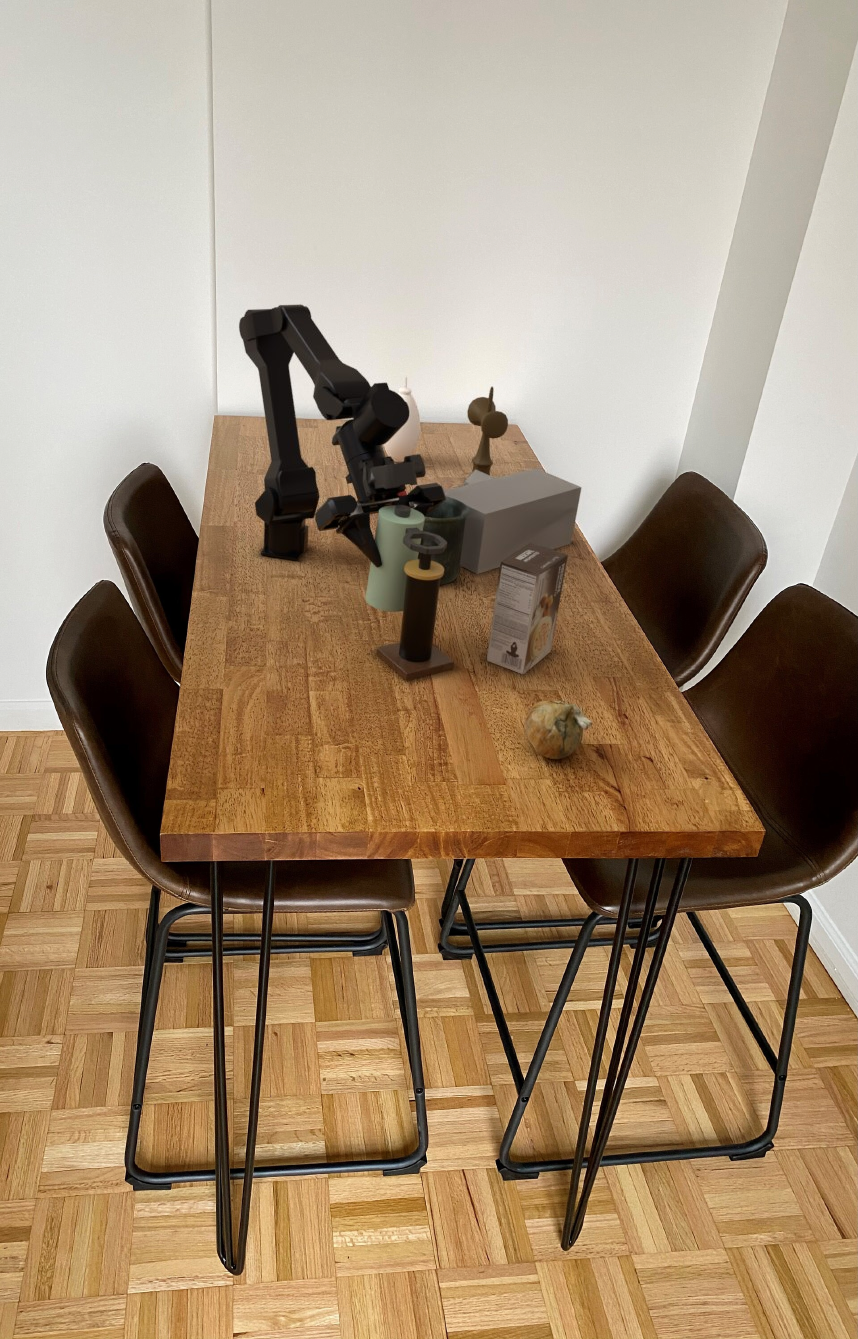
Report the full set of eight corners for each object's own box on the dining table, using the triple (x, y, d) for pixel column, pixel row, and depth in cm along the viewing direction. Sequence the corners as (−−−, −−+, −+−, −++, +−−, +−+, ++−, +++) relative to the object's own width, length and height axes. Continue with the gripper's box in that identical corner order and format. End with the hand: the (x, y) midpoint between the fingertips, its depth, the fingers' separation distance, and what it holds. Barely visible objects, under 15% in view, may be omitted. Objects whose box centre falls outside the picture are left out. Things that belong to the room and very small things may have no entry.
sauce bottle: (416, 469, 219) (425, 383, 210) (379, 465, 218) (386, 379, 209) (417, 456, 225) (425, 372, 216) (381, 453, 225) (387, 369, 216)
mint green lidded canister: (357, 593, 152) (372, 499, 145) (396, 589, 155) (412, 497, 148) (399, 636, 143) (416, 538, 135) (439, 631, 146) (458, 536, 139)
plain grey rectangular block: (480, 501, 207) (487, 447, 201) (571, 543, 193) (581, 487, 187) (385, 526, 191) (390, 469, 185) (477, 574, 177) (485, 514, 171)
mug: (460, 591, 171) (469, 522, 165) (371, 582, 170) (377, 513, 164) (461, 563, 180) (469, 497, 174) (376, 554, 180) (381, 488, 174)
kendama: (486, 474, 220) (498, 379, 210) (500, 491, 212) (514, 393, 202) (458, 474, 218) (470, 378, 208) (472, 492, 210) (485, 393, 200)
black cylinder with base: (375, 654, 150) (385, 538, 141) (422, 643, 154) (434, 529, 145) (405, 681, 145) (418, 561, 136) (453, 668, 149) (468, 552, 140)
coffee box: (513, 638, 159) (529, 540, 151) (551, 652, 156) (570, 553, 148) (484, 661, 152) (499, 560, 144) (523, 676, 149) (541, 574, 141)
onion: (574, 734, 137) (585, 682, 133) (584, 770, 130) (596, 716, 126) (517, 731, 137) (526, 678, 133) (524, 767, 130) (534, 713, 126)
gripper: (329, 441, 137) (366, 551, 135) (447, 428, 147) (482, 531, 145) (299, 477, 146) (333, 581, 144) (411, 462, 156) (444, 560, 154)
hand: (400, 562), depth 147 cm, fingers closed on mint green lidded canister, 6 cm apart
